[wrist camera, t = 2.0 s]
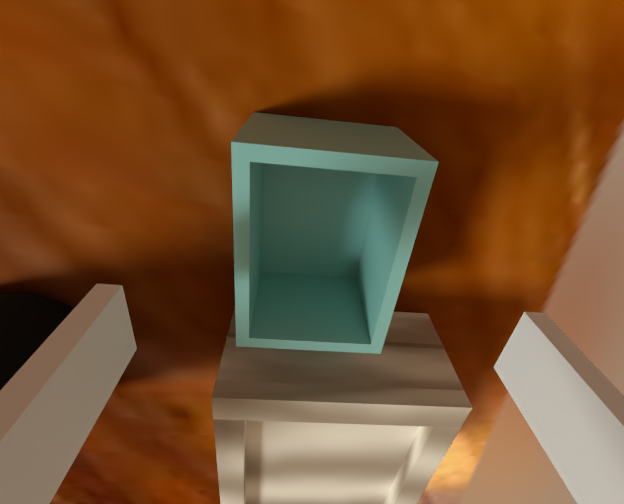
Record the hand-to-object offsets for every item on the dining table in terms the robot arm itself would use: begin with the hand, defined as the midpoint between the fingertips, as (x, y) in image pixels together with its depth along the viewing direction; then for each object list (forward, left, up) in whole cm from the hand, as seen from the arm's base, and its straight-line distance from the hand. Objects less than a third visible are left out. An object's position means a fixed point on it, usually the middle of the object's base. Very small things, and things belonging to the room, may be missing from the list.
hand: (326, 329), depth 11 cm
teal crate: (0, 0, -9) cm, 9 cm away
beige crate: (+15, +2, -9) cm, 17 cm away
